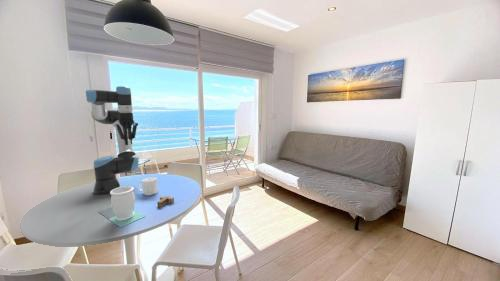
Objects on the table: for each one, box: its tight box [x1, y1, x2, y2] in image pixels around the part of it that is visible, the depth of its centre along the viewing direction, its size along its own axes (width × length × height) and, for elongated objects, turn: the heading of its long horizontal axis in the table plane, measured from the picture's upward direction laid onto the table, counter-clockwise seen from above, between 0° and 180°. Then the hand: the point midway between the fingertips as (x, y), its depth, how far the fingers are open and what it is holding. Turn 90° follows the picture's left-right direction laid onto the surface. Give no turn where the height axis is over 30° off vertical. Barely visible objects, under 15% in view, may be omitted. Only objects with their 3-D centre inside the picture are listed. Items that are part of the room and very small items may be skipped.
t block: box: [156, 195, 175, 208], centre depth 120 cm, size 8×8×3 cm
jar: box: [109, 185, 136, 221], centre depth 104 cm, size 11×10×15 cm
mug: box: [137, 176, 159, 196], centre depth 136 cm, size 12×9×9 cm
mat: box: [98, 206, 146, 228], centre depth 108 cm, size 26×12×1 cm, turn 56°
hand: (129, 149), depth 128 cm, fingers closed
